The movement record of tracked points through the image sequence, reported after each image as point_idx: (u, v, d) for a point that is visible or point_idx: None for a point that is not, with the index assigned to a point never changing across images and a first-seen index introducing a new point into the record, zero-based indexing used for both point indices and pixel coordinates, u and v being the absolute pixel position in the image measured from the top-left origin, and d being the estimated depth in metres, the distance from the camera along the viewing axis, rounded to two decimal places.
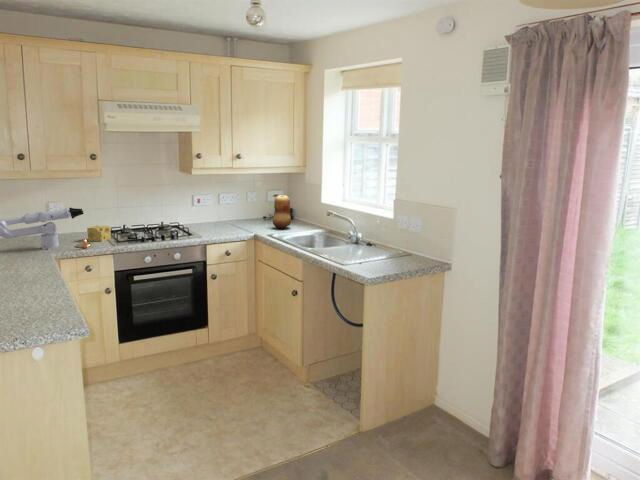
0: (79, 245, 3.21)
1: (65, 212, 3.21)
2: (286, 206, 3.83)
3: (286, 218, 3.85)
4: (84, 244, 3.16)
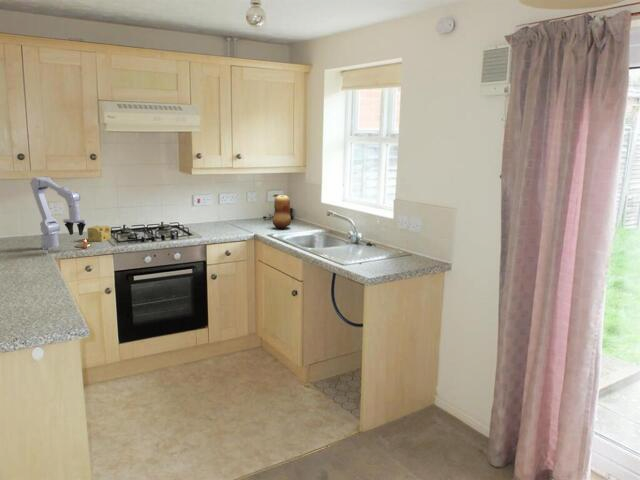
0: (79, 245, 3.21)
1: None
2: (286, 206, 3.83)
3: (286, 218, 3.85)
4: (84, 244, 3.16)
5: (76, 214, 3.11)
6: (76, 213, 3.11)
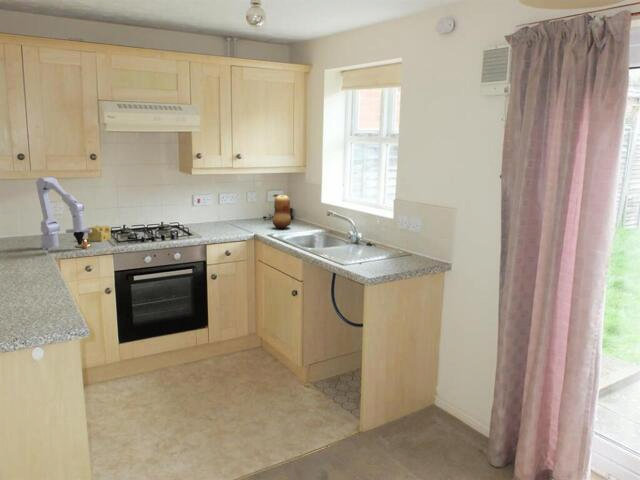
0: (79, 245, 3.21)
1: (73, 228, 3.13)
2: (286, 206, 3.83)
3: (286, 218, 3.85)
4: (84, 244, 3.16)
5: (81, 224, 3.13)
6: (81, 223, 3.12)
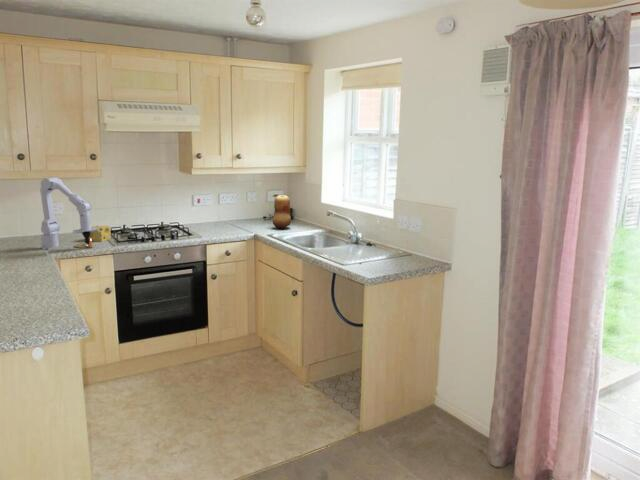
0: (80, 245, 3.21)
1: (82, 228, 3.13)
2: (286, 206, 3.83)
3: (286, 218, 3.85)
4: (90, 243, 3.18)
5: (90, 223, 3.16)
6: None
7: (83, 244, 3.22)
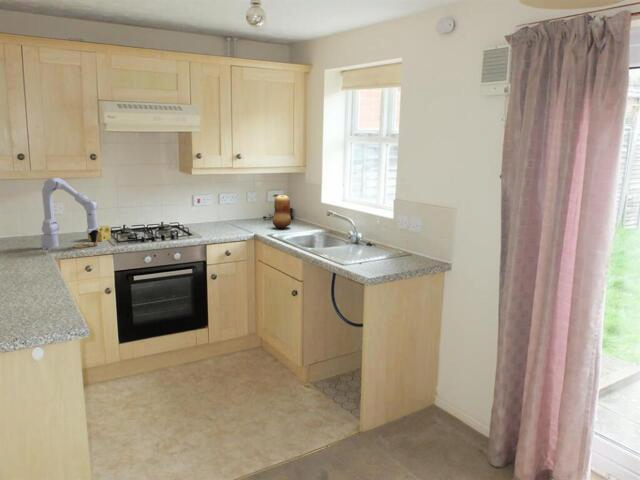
0: (84, 245, 3.21)
1: (92, 227, 3.18)
2: (286, 206, 3.83)
3: (286, 218, 3.85)
4: (96, 241, 3.24)
5: None
6: None
7: (85, 244, 3.22)
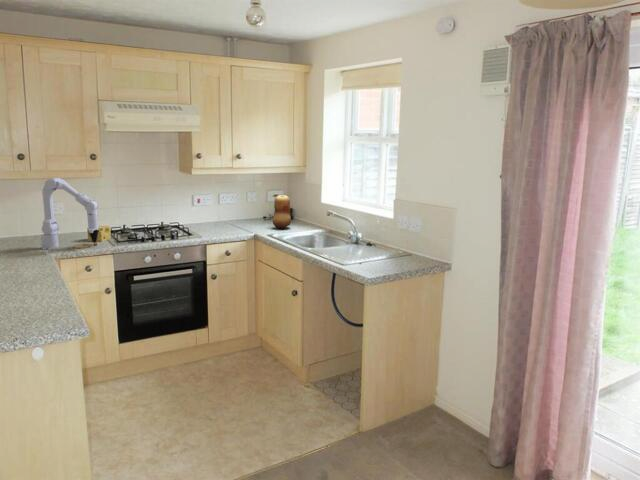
0: (85, 245, 3.21)
1: (94, 227, 3.19)
2: (286, 206, 3.83)
3: (286, 218, 3.85)
4: None
5: None
6: None
7: (85, 244, 3.23)
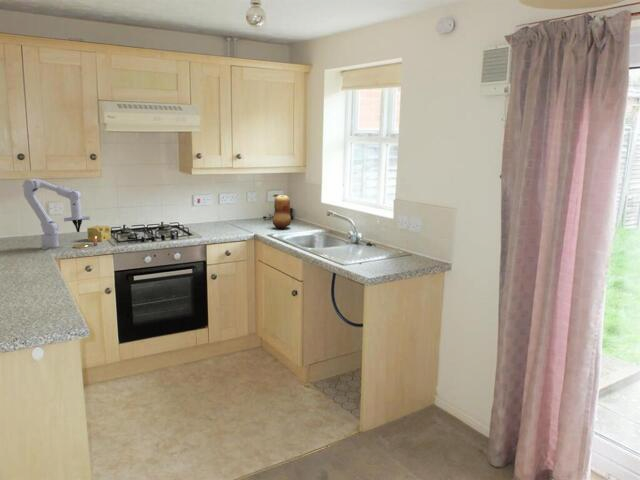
0: (85, 245, 3.21)
1: (72, 216, 3.19)
2: (286, 206, 3.83)
3: (286, 218, 3.85)
4: (96, 241, 3.26)
5: (80, 211, 3.21)
6: (80, 210, 3.21)
7: (85, 244, 3.23)
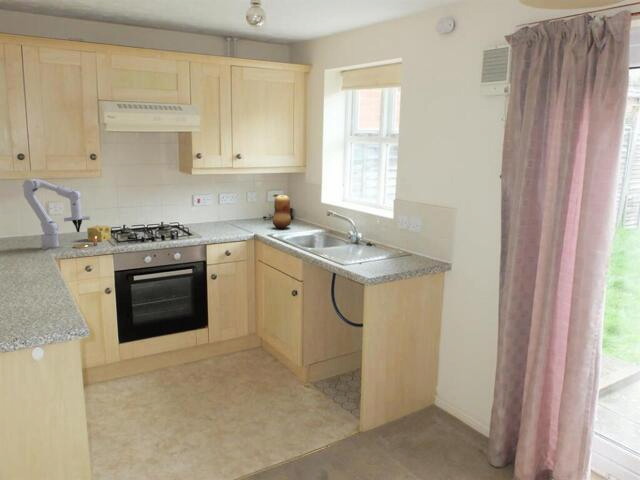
0: (85, 245, 3.21)
1: (72, 216, 3.19)
2: (286, 206, 3.83)
3: (286, 218, 3.85)
4: (96, 241, 3.26)
5: (80, 211, 3.21)
6: (80, 210, 3.21)
7: (85, 244, 3.23)
